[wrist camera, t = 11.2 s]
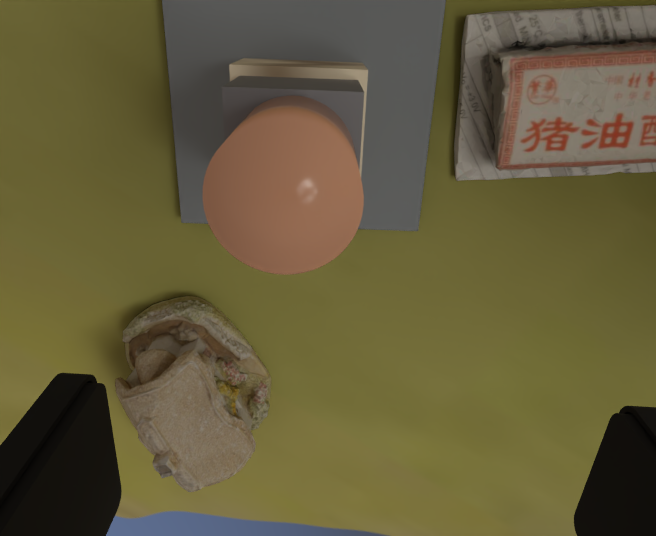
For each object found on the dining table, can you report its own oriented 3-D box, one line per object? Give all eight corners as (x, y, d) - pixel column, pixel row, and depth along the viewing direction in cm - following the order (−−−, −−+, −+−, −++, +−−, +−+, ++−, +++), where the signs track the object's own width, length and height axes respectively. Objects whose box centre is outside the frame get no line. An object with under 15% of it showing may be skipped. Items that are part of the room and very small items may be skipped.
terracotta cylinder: (359, 97, 22) (369, 123, 17) (351, 220, 24) (358, 277, 19) (229, 92, 22) (196, 116, 17) (234, 216, 24) (207, 272, 19)
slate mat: (442, 0, 30) (445, -1, 29) (415, 225, 36) (418, 231, 35) (165, -12, 30) (160, -13, 29) (185, 217, 36) (181, 222, 35)
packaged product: (838, -6, 26) (775, 185, 31) (765, -3, 31) (719, 164, 35) (481, 12, 27) (467, 198, 31) (459, 13, 31) (450, 176, 35)
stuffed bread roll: (294, 417, 44) (286, 520, 35) (175, 452, 46) (138, 559, 36) (223, 277, 38) (190, 356, 29) (90, 323, 40) (20, 411, 31)
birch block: (362, 62, 31) (368, 69, 26) (355, 178, 34) (359, 202, 29) (243, 58, 31) (229, 64, 26) (247, 174, 34) (234, 198, 29)
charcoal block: (358, 80, 26) (364, 91, 22) (351, 193, 29) (356, 225, 25) (239, 75, 26) (221, 86, 22) (243, 190, 29) (228, 221, 24)
